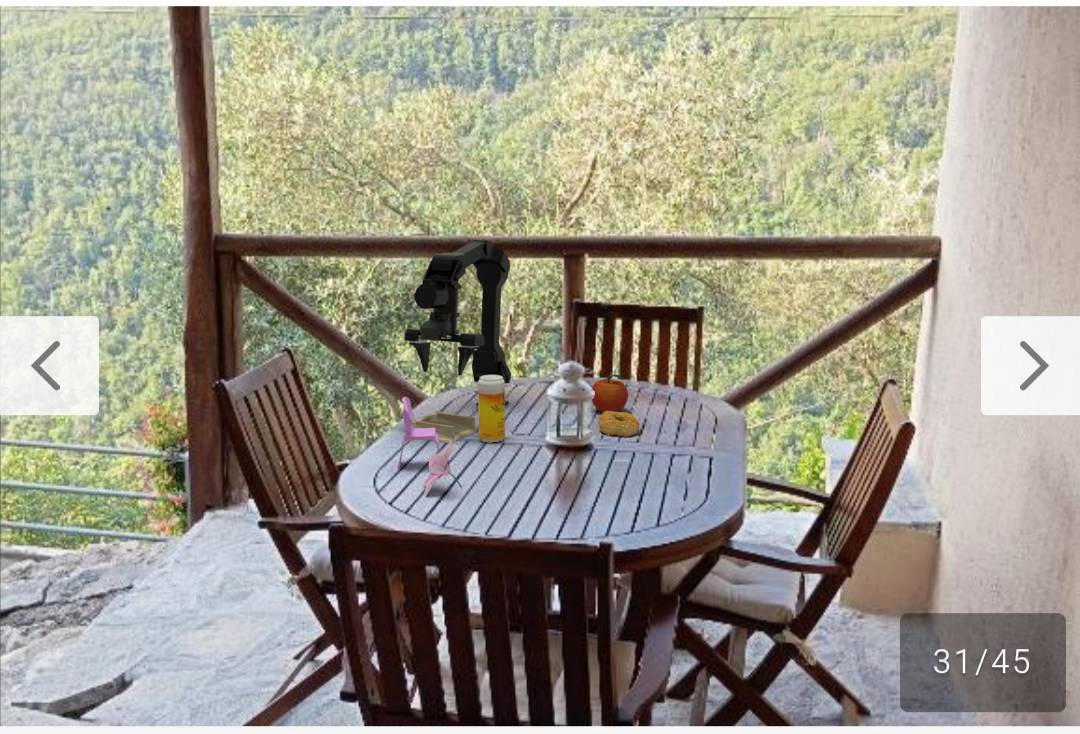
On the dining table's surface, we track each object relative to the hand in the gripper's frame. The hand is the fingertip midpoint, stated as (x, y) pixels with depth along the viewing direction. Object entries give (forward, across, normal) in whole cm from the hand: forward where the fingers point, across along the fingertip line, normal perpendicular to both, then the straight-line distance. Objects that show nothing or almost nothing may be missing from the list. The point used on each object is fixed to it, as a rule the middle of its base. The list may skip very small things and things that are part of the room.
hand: (442, 373), depth 255 cm
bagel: (+12, +39, +18) cm, 45 cm away
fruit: (+10, +31, +34) cm, 47 cm away
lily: (+19, +20, -36) cm, 46 cm away
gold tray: (+14, +1, -1) cm, 14 cm away
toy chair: (+18, +8, -24) cm, 31 cm away
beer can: (+14, +14, -1) cm, 20 cm away
